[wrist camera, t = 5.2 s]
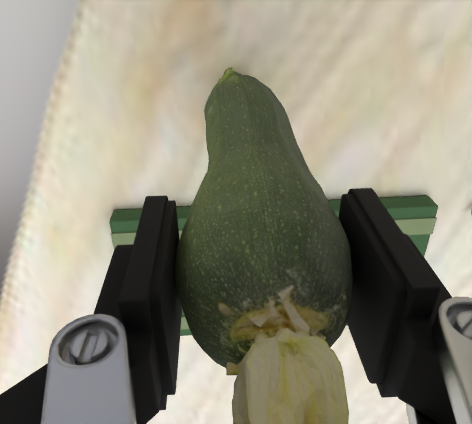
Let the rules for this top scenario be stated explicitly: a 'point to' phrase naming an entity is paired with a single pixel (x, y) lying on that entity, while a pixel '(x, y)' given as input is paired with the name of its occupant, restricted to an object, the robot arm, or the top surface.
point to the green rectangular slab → (400, 208)
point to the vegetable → (265, 264)
